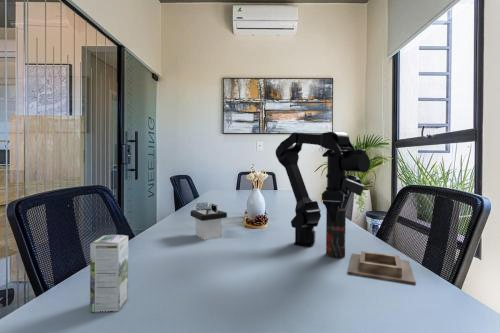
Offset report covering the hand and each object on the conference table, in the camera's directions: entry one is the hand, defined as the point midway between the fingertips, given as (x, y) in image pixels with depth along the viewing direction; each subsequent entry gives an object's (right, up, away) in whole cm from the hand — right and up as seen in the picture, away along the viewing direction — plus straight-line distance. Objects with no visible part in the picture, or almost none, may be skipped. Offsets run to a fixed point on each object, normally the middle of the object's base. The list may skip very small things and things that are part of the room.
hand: (335, 219), depth 91 cm
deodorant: (0, -12, 0) cm, 12 cm away
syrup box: (-58, -13, -31) cm, 67 cm away
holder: (+10, -12, -10) cm, 19 cm away
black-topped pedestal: (-45, -12, +22) cm, 51 cm away
